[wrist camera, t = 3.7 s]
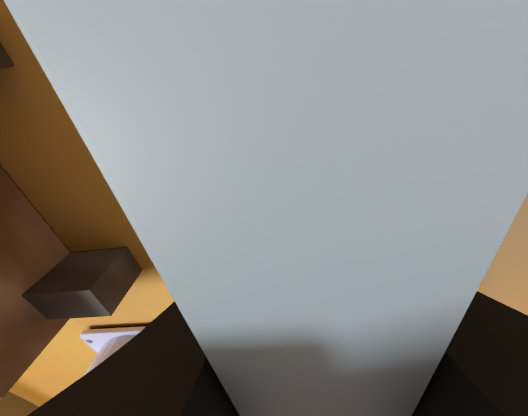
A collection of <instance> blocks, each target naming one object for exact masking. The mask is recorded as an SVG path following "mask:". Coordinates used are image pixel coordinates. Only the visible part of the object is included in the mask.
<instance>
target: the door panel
mask: <svg viewBox="0 0 528 416" xmlns="http://www.w3.org/2000/svg"><path fill="white" fill-rule="evenodd" d="M4 2H5V4H6V6H7V7H8V9H9V11H10V13H11V15H12V16H13V18H14V20H15V22H16V23H17V25H18V27H19V29H20V30H21V32H22V34H23V36H24V37H25V39H26V41H27V43H28V44H29V46H30V48H31V50H32V51H33V53H34V55H35V57H36V58H37V60H38V62H39V64H40V65H41V67H42V69H43V71H44V73H45V74H46V76H47V78H48V80H49V81H50V83H51V85H52V87H53V88H54V90H55V92H56V94H57V95H58V97H59V99H60V101H61V102H62V104H63V106H64V108H65V109H66V111H67V113H68V115H69V116H70V118H71V120H72V122H73V123H74V125H75V127H76V129H77V131H78V132H79V134H80V136H81V138H82V139H83V141H84V143H85V145H86V146H87V148H88V150H89V152H90V153H91V155H92V157H93V159H94V160H95V162H96V164H97V166H98V167H99V169H100V171H101V173H102V174H103V176H104V178H105V180H106V181H107V183H108V185H109V187H110V189H111V190H112V192H113V194H114V196H115V197H116V199H117V201H118V203H119V204H120V206H121V208H122V210H123V211H124V213H125V215H126V217H127V218H128V220H129V222H130V224H131V225H132V227H133V229H134V231H135V232H136V234H137V236H138V238H139V239H140V241H141V243H142V245H143V247H144V248H145V250H146V252H147V254H148V255H149V257H150V259H151V261H152V262H153V264H154V266H155V268H156V269H157V271H158V273H159V275H160V276H161V278H162V280H163V282H164V283H165V285H166V287H167V289H168V290H169V292H170V294H171V296H172V297H173V299H174V301H175V303H176V305H177V306H178V308H179V310H180V312H181V313H182V315H183V317H184V319H185V320H186V322H187V324H188V326H189V327H190V329H191V331H192V333H193V334H194V336H195V338H196V340H197V341H198V343H199V345H200V347H201V348H202V350H203V352H204V354H205V355H206V357H207V359H208V361H209V363H210V364H211V366H212V368H213V370H214V371H215V373H216V375H217V377H218V378H219V380H220V382H221V384H222V385H223V387H224V389H225V391H226V392H227V394H228V396H229V398H230V399H231V401H232V403H233V405H234V406H235V408H236V410H237V412H238V413H239V415H240V416H412V414H413V412H414V410H415V408H416V406H417V404H418V402H419V401H420V399H421V397H422V395H423V393H424V391H425V389H426V387H427V385H428V383H429V381H430V380H431V378H432V376H433V374H434V372H435V370H436V368H437V366H438V364H439V362H440V360H441V359H442V357H443V355H444V353H445V351H446V349H447V347H448V345H449V343H450V341H451V339H452V338H453V336H454V334H455V332H456V330H457V328H458V326H459V324H460V322H461V320H462V318H463V316H464V315H465V313H466V311H467V309H468V307H469V305H470V303H471V301H472V299H473V297H474V295H475V294H476V292H477V290H478V288H479V286H480V284H481V282H482V280H483V278H484V276H485V274H486V273H487V271H488V269H489V267H490V265H491V263H492V261H493V259H494V257H495V255H496V253H497V251H498V249H499V248H500V246H501V244H502V242H503V240H504V238H505V236H506V234H507V232H508V230H509V229H510V227H511V225H512V223H513V221H514V219H515V217H516V215H517V213H518V211H519V209H520V208H521V205H522V203H523V202H524V200H525V198H526V196H527V194H528V0H4Z"/></svg>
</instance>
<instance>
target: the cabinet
mask: <svg viewBox="0 0 528 416" xmlns="http://www.w3.org/2000/svg"><path fill="white" fill-rule="evenodd" d="M11 66H14V65H13V64H12V62H11V60H10V59H9V57H8V56H7V54H6V52H5V51H4V49H3V48H2V46H1V44H0V69H1V68H6V67H11ZM140 273H141V269H140V268H139V266H138V265H137V263H136V261H135V260H134V258H133V257H132V255H131V253H130V252H129V250H128V249H127V247H123V248H113V249H103V250H93V251H83V252H73V253H70V251H69V250H68V249H67V248H66V246H65V245H64V244H63V243H62V242H61V240H60V239H59V238H58V237H57V235H56V234H55V233H54V232H53V230H52V229H51V228H50V227H49V225H48V224H47V223H46V222H45V220H44V219H43V218H42V217H41V216H40V214H39V213H38V212H37V211H36V209H35V208H34V207H33V206H32V204H31V203H30V202H29V201H28V199H27V198H26V197H25V196H24V194H23V193H22V192H21V191H20V190H19V188H18V187H17V186H16V185H15V183H14V182H13V181H12V180H11V178H10V177H9V176H8V175H7V173H6V172H5V171H4V170H3V169H2V167H1V166H0V399H1V398H3V397H4V396H5V394H6V393H7V392H8V391H9V390H10V389H11V387H12V386H13V385H14V384H15V383H16V381H17V380H18V379H19V378H20V377H21V376H22V374H23V373H24V372H25V371H26V370H27V368H28V367H29V366H30V365H31V364H32V363H33V361H34V360H35V359H36V358H37V357H38V355H39V354H40V353H41V352H42V351H43V349H44V348H45V347H46V346H47V345H48V344H49V342H50V341H51V340H52V339H53V338H54V336H55V335H56V334H57V333H58V332H59V331H60V329H61V328H62V327H63V326H64V325H65V323H66V322H67V321H68V320H69V319H70V318H83V317H99V316H111V315H112V314H113V312H114V311H115V309H116V308H117V306H118V305H119V304H120V302H121V301H122V299H123V298H124V296H125V295H126V293H127V292H128V290H129V289H130V287H131V286H132V284H133V283H134V281H135V280H136V279H137V277H138V276H139V274H140Z"/></svg>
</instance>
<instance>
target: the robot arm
mask: <svg viewBox="0 0 528 416" xmlns="http://www.w3.org/2000/svg"><path fill="white" fill-rule="evenodd" d="M80 337H81V339H82V340H84V341H85V342H86V343H87V344H88V345H89V346H90V347H91V348H92V349H93V350H94V351H95V352H96V353H97V355H96V356H95V358H94V360H93V361H92V363H91V364H90V366H89V367H88V369H87V371H86V372H85V374H84V375H83V377H81V378H80V379H79V380H77V381H76V382H74V383H73V384H72V385H70V386H69V387H67V388H66V389H65V390H63V391H62V392H60V393H59V394H57V395H56V396H55V397H53V398H52V399H50V400H49V401H47V402H46V403H45V404H43V405H42V406H40V407H39V408H38V409H36V410H35V411H33V412H32V413H30V414H29V415H28V416H240V415H239V413H238V412H237V410H236V408H235V406H234V405H233V403H232V401H231V399H230V398H229V396H228V394H227V392H226V391H225V389H224V387H223V385H222V384H221V382H220V380H219V378H218V377H217V375H216V373H215V371H214V370H213V368H212V366H211V364H210V363H209V361H208V359H207V357H206V355H205V354H204V352H203V350H202V348H201V347H200V345H199V343H198V341H197V340H196V338H195V336H194V334H193V333H192V331H191V329H190V327H189V326H188V324H187V322H186V320H185V319H184V317H183V315H182V313H181V312H180V310H179V308H178V306H177V305H176V303H175V301H174V302H173V303H172V304H171V305H170V306H169V307H168V308H167V309H166V310H165V311H163V312H162V313H161V314H160V315H159V316H158V317H157V318H155V319H154V320H153V321H152V322H151V323H150V324H149V325H147V326H143V327H124V328H106V329H87V330H84V331H83V332H82V333H81V334H80ZM412 416H528V316H527V315H525V314H523V313H521V312H519V311H517V310H515V309H513V308H510V307H508V306H506V305H504V304H502V303H500V302H498V301H496V300H494V299H492V298H489V297H487V296H486V295H484V294H482V293H480V292H478V291H477V292H476V294H475V295H474V297H473V299H472V301H471V303H470V305H469V307H468V309H467V311H466V313H465V315H464V316H463V318H462V320H461V322H460V324H459V326H458V328H457V330H456V332H455V334H454V336H453V338H452V339H451V341H450V343H449V345H448V347H447V349H446V351H445V353H444V355H443V357H442V359H441V360H440V362H439V364H438V366H437V368H436V370H435V372H434V374H433V376H432V378H431V380H430V381H429V383H428V385H427V387H426V389H425V391H424V393H423V395H422V397H421V399H420V401H419V402H418V404H417V406H416V408H415V410H414V412H413V414H412Z"/></svg>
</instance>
